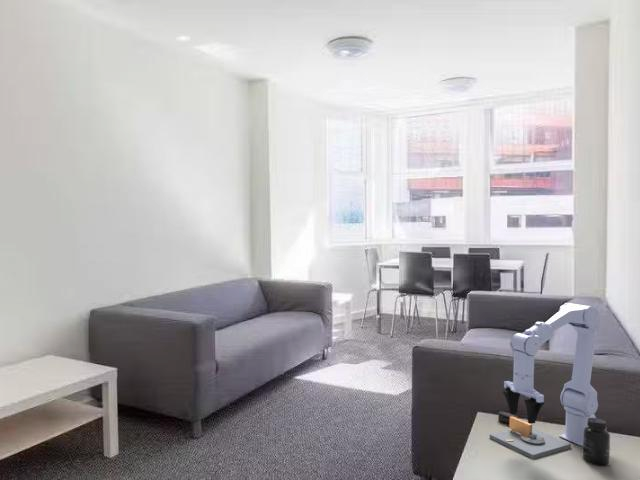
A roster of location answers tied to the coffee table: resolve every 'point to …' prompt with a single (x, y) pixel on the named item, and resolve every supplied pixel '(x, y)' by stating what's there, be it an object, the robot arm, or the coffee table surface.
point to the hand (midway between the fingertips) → (522, 418)
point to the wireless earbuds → (505, 417)
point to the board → (529, 449)
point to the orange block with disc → (525, 431)
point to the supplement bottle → (596, 442)
